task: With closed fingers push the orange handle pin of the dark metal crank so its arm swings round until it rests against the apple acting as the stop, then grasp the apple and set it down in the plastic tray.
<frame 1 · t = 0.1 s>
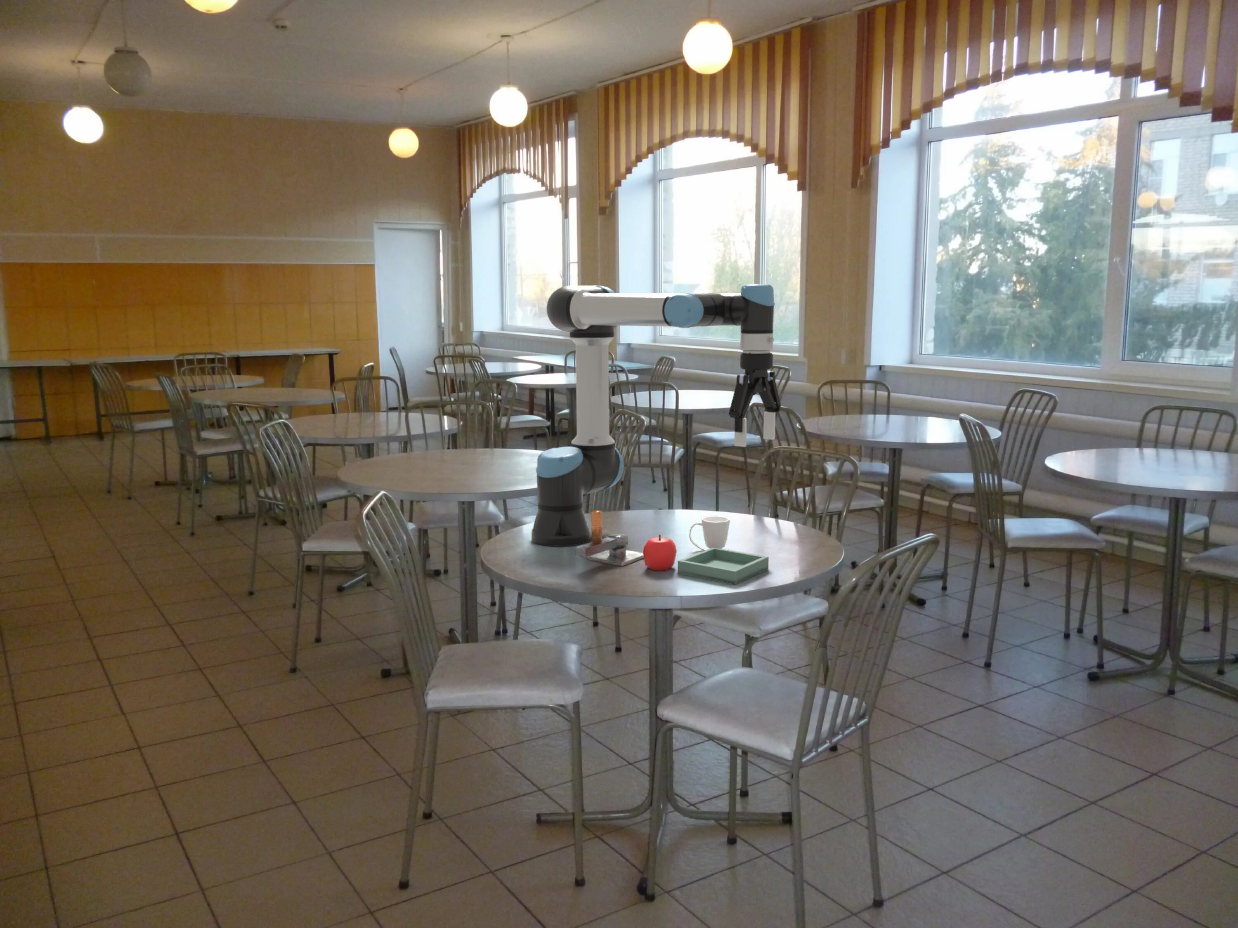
hand: (755, 442, 236), 28 cm above the table, fingers open, 13 cm apart
tray: (723, 571, 229), on the table
crank: (602, 529, 235), point 8 cm above the table, hinge at -90.0°
apple: (659, 568, 232), on the table
cup: (709, 551, 247), on the table
crank post: (617, 558, 241), on the table
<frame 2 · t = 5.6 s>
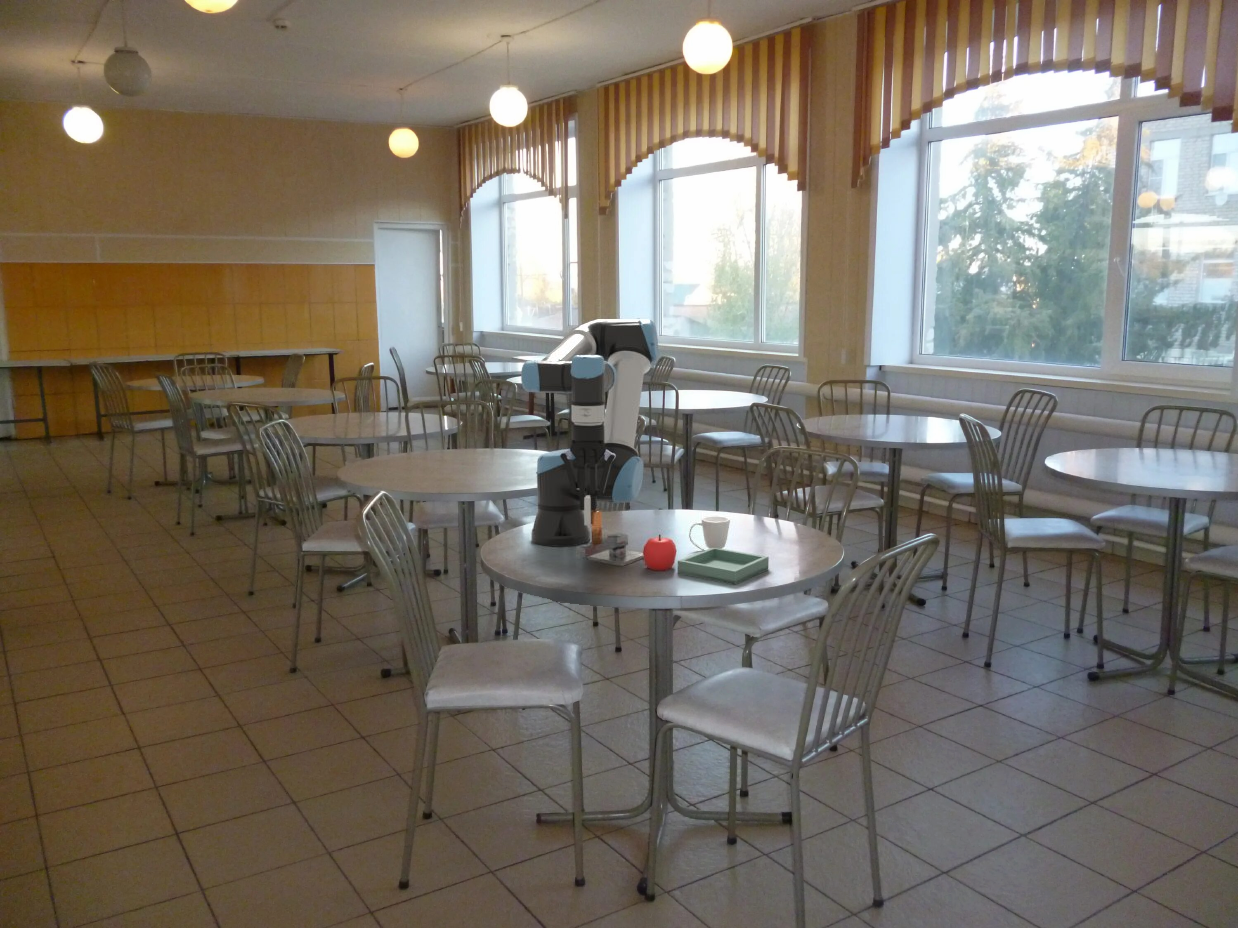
hand: (588, 523, 233), 10 cm above the table, fingers closed
crank: (602, 529, 235), point 8 cm above the table, hinge at -89.9°, touching gripper
everything else where it was.
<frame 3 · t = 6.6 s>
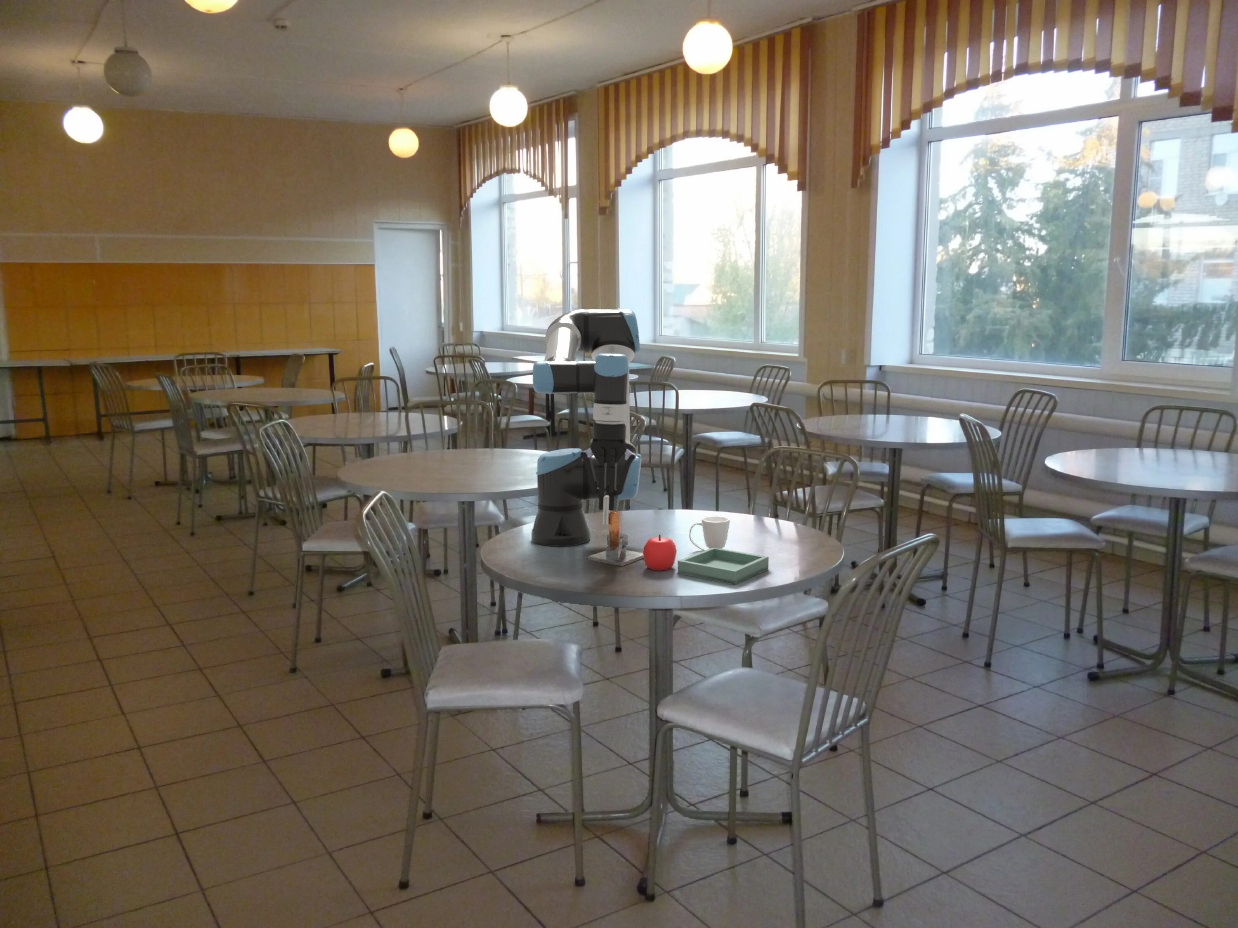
hand: (606, 523, 231), 10 cm above the table, fingers closed
crank: (615, 530, 234), point 8 cm above the table, hinge at -57.8°, touching gripper
everything else where it was.
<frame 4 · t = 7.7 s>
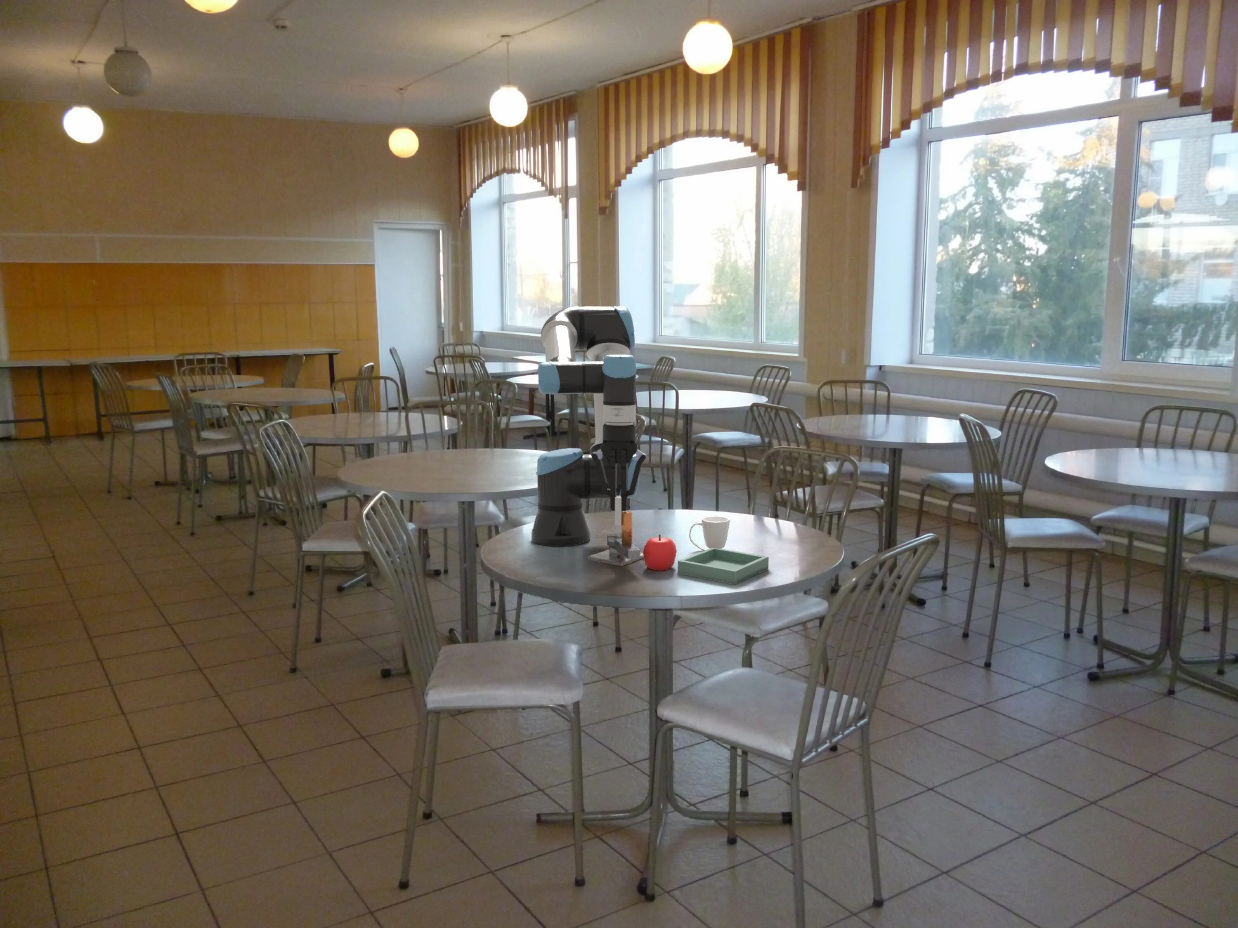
hand: (618, 524, 232), 10 cm above the table, fingers closed
crank: (624, 530, 234), point 8 cm above the table, hinge at -37.2°, touching gripper
everything else where it was.
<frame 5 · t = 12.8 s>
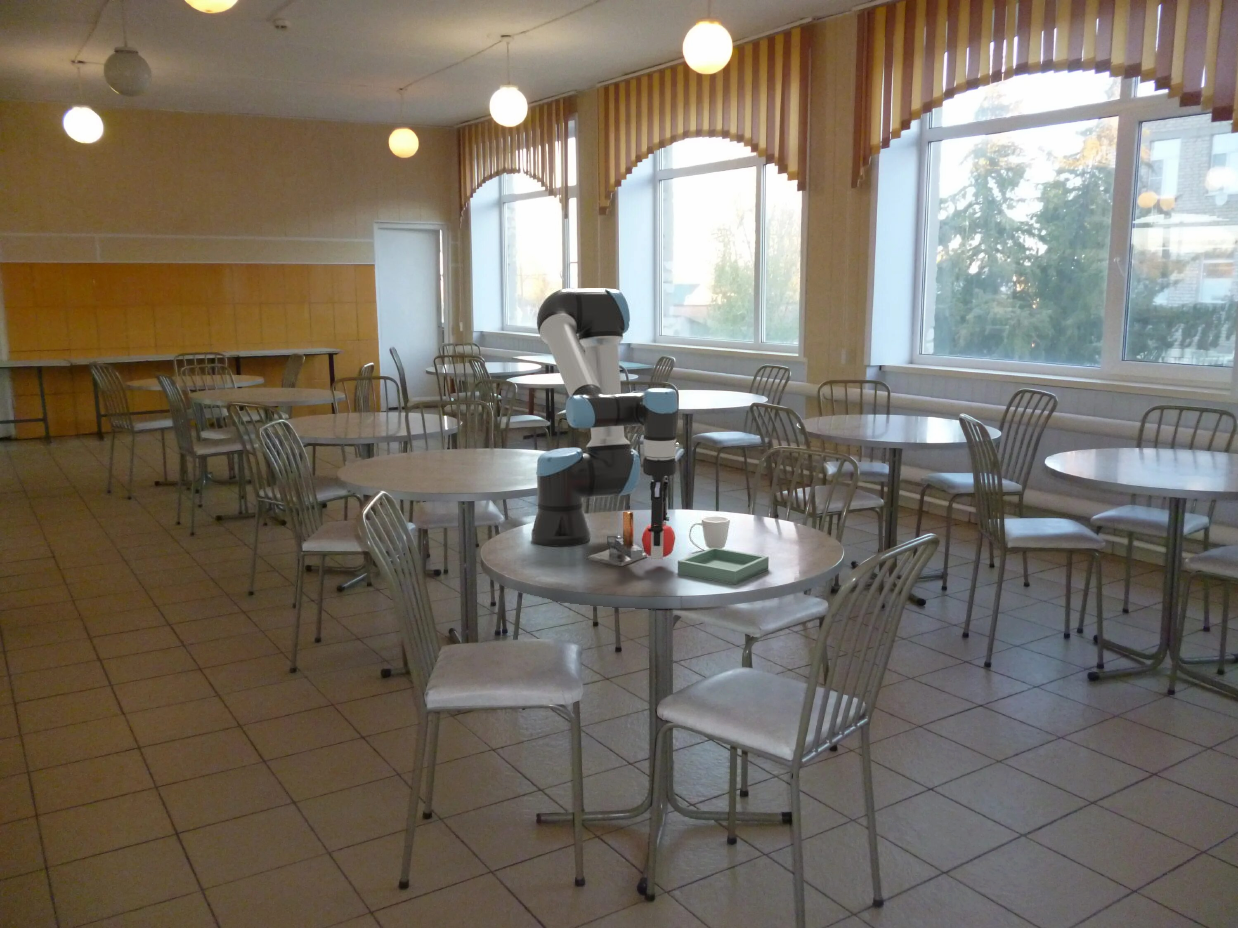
hand: (658, 553, 232), 3 cm above the table, fingers closed on apple, 8 cm apart
crank: (625, 530, 234), point 8 cm above the table, hinge at -34.8°
apple: (658, 555, 233), point 3 cm above the table, touching gripper
everything else where it was.
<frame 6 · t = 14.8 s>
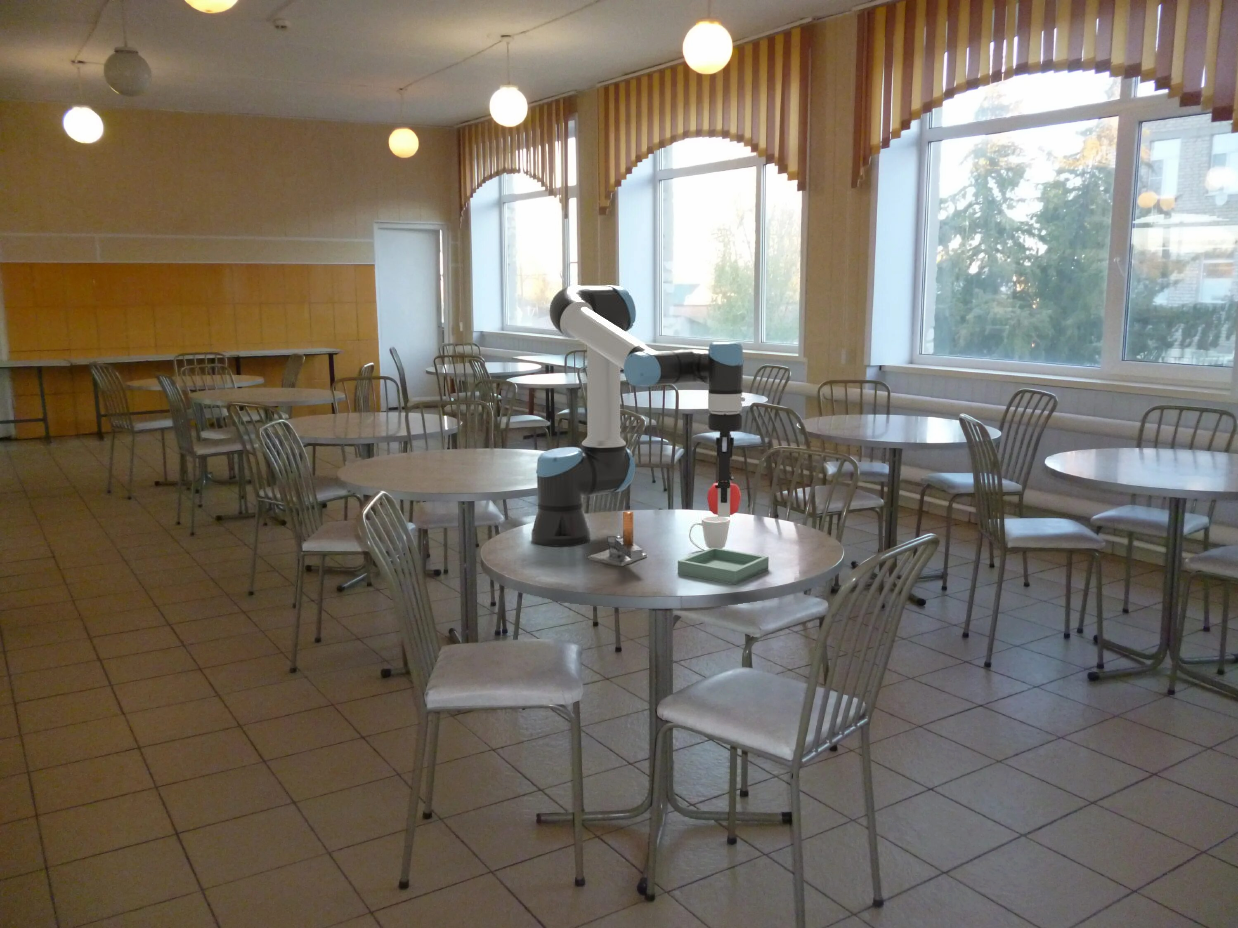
hand: (724, 512, 227), 14 cm above the table, fingers closed on apple, 8 cm apart
apple: (724, 514, 227), point 13 cm above the table, touching gripper
everything else where it was.
when the fingers open (3 cm above the table, at t = 17.0 s): apple drops 2 cm, resting on tray.
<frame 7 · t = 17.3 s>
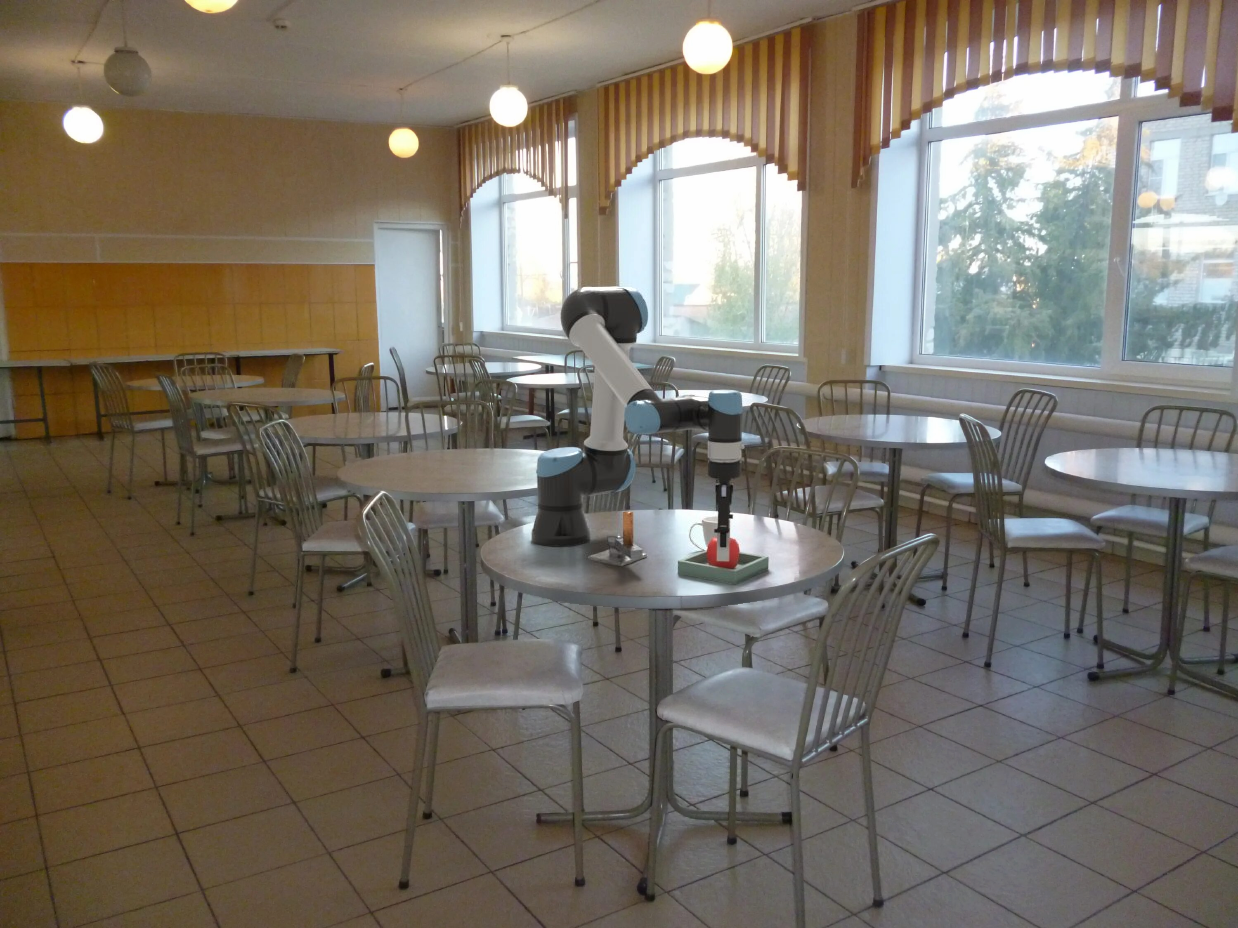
hand: (723, 553, 228), 4 cm above the table, fingers open, 11 cm apart
apple: (723, 569, 229), point 1 cm above the table, touching tray
everything else where it was.
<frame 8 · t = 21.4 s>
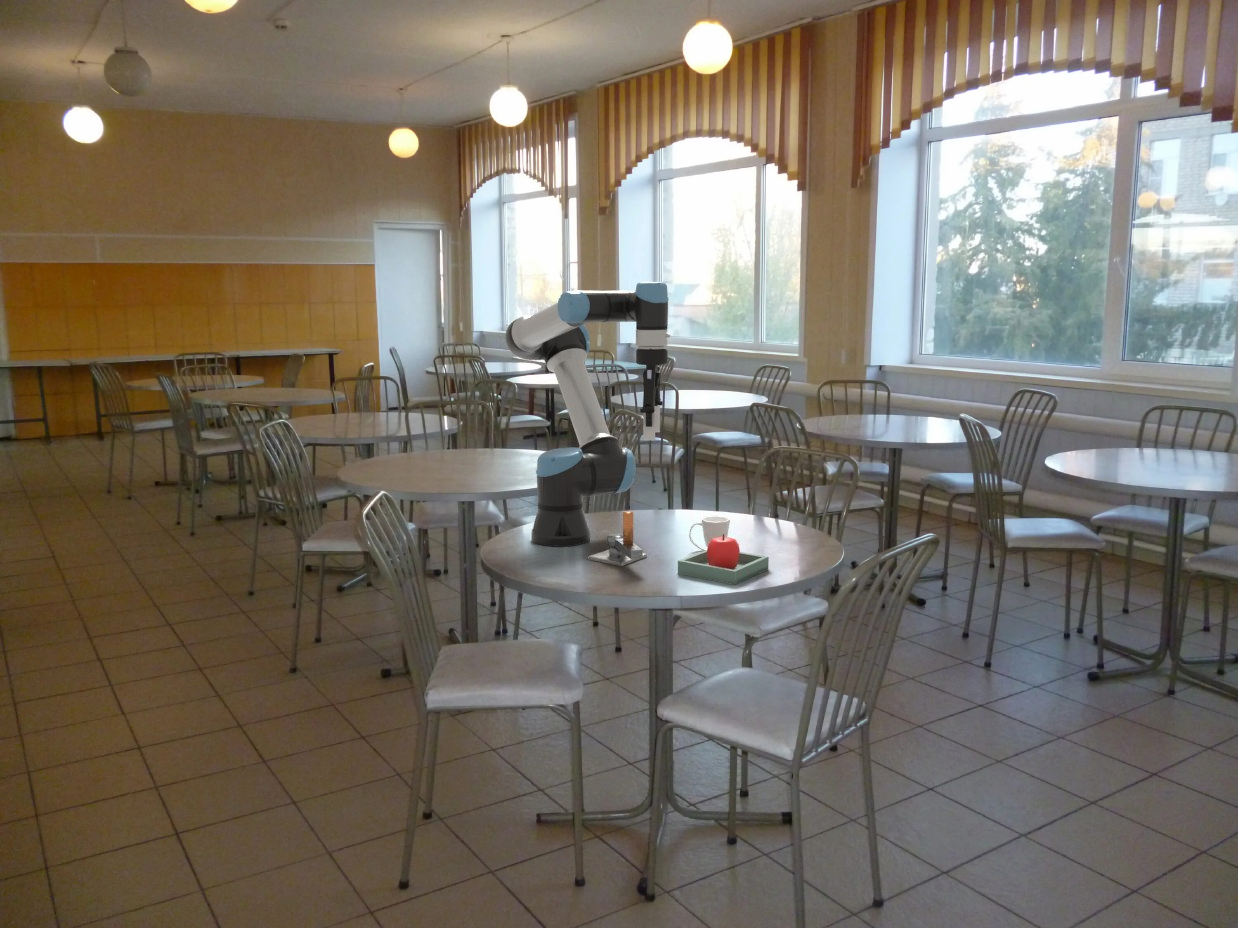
hand: (651, 436, 242), 29 cm above the table, fingers open, 13 cm apart
nothing on the table moved.
at the end: crank at -35° (first picture: -90°); apple inside the target area on the tray (0.2 cm from its centre), point 0.6 cm above the tray's base; the gripper is holding nothing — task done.
